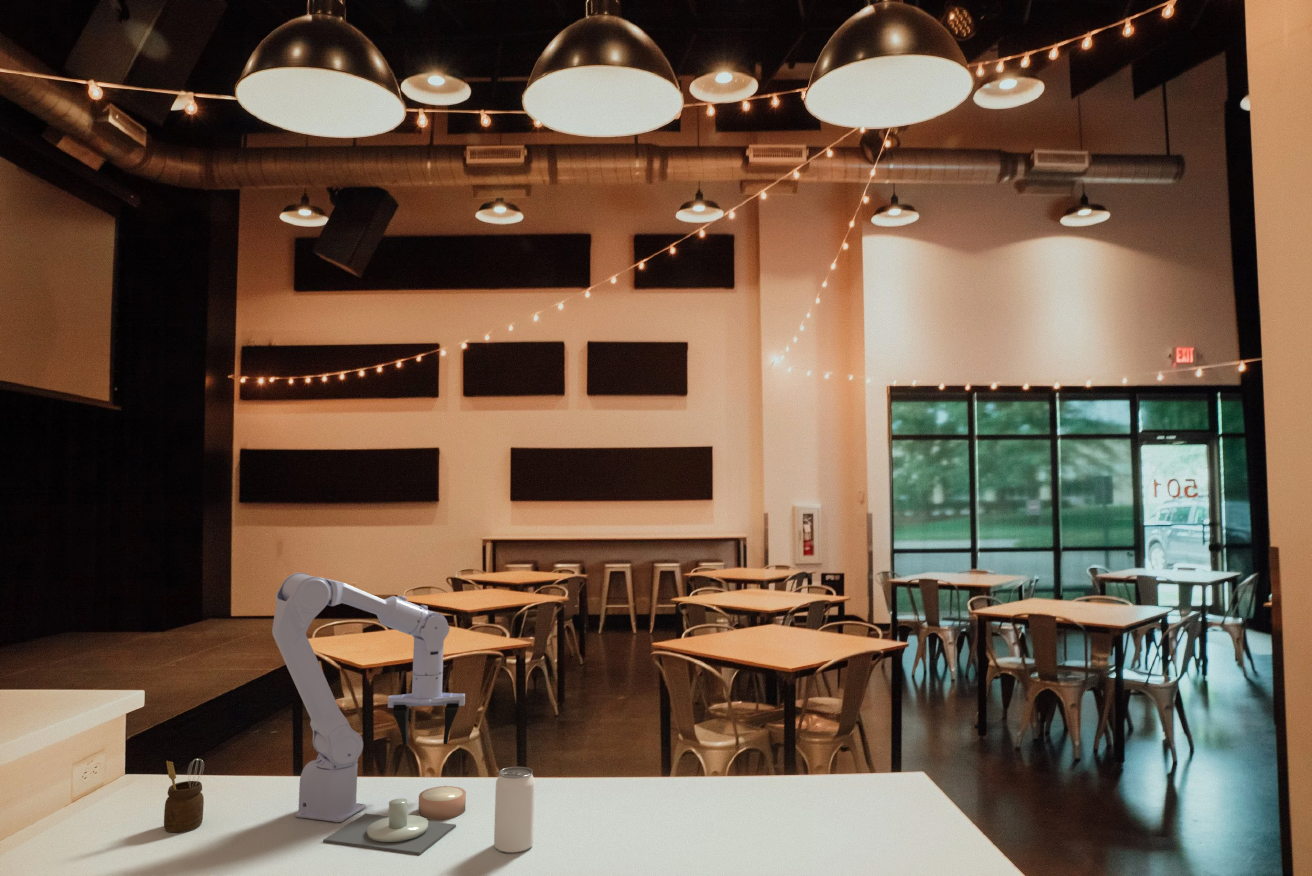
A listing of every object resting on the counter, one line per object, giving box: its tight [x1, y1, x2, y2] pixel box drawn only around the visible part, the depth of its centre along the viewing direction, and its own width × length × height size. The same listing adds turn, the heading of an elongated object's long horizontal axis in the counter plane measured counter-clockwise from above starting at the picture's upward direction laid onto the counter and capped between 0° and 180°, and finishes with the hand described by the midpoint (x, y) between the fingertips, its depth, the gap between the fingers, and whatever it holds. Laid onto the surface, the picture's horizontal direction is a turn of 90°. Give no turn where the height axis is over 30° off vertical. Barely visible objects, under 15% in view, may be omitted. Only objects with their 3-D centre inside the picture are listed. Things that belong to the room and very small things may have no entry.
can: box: [493, 766, 536, 854], centre depth 139 cm, size 6×6×12 cm
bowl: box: [417, 785, 467, 821], centre depth 153 cm, size 8×8×3 cm
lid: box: [367, 798, 429, 842], centre depth 143 cm, size 10×10×5 cm
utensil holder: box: [163, 758, 205, 834], centre depth 145 cm, size 6×6×12 cm
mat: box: [322, 813, 457, 856], centre depth 142 cm, size 18×12×1 cm, turn 76°
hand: (425, 743), depth 163 cm, fingers open, 7 cm apart
